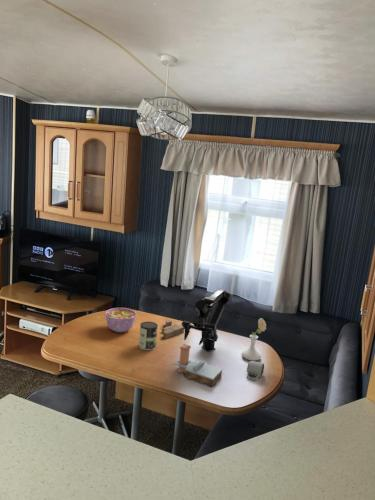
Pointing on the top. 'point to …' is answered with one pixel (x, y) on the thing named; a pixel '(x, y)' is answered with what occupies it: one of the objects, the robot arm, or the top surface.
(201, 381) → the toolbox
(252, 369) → the ceramic mug
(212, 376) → the lid
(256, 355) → the flower in vase
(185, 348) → the salmon brown tall block
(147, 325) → the coffee can
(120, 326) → the bowl of food
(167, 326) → the wooden block set
